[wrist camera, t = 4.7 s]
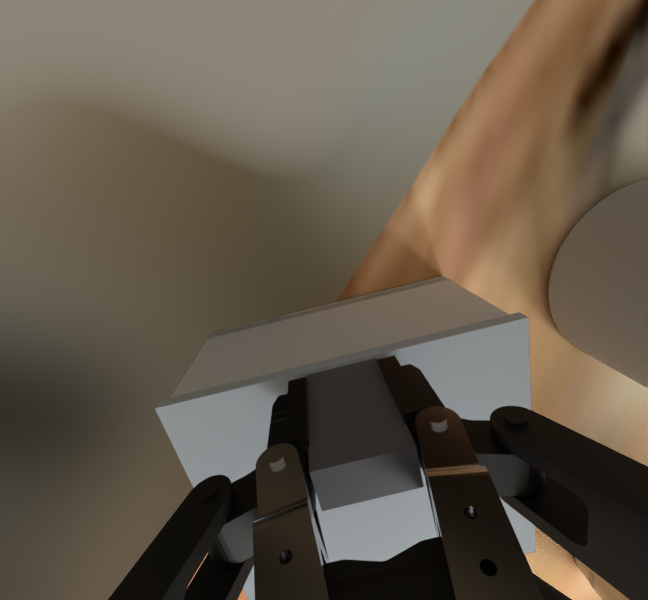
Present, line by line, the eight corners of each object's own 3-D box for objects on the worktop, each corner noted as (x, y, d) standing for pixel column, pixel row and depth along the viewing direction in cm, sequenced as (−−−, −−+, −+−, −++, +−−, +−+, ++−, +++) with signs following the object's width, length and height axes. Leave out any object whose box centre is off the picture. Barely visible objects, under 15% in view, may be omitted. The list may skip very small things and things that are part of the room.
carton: (442, 275, 22) (518, 319, 14) (462, 439, 26) (527, 538, 19) (211, 332, 22) (165, 405, 14) (270, 485, 26) (258, 602, 19)
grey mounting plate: (518, 312, 14) (651, 385, 9) (528, 540, 19) (619, 678, 13) (160, 399, 14) (76, 523, 9) (257, 604, 19) (241, 766, 14)
